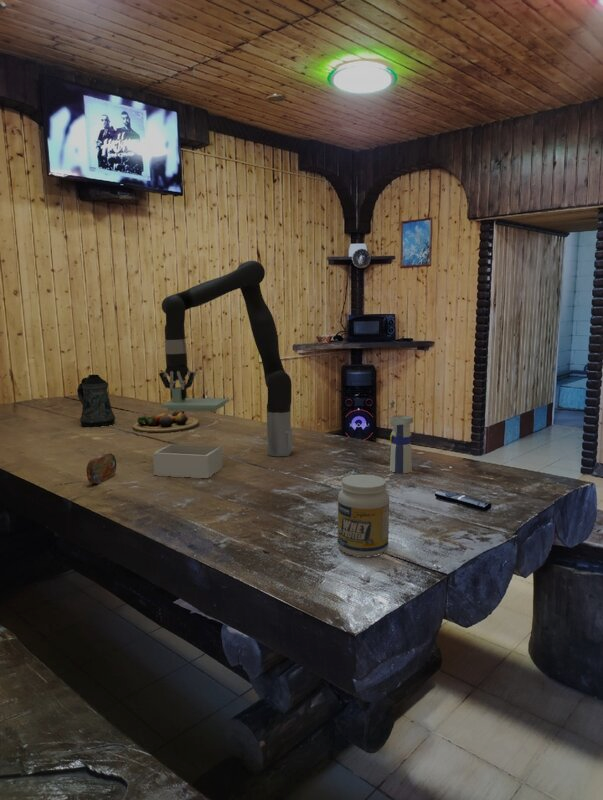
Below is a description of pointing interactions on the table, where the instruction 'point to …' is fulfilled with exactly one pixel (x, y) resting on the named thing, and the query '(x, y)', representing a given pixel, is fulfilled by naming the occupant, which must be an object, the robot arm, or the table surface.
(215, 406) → the lid
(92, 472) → the tin
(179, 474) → the parts tub
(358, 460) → the table surface
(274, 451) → the robot arm
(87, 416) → the beer stein
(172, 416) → the wooden plate with food
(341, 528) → the supplement tub
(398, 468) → the water bottle
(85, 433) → the table surface
